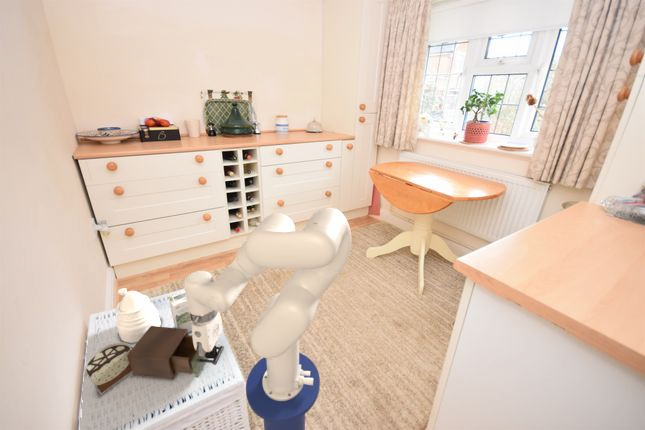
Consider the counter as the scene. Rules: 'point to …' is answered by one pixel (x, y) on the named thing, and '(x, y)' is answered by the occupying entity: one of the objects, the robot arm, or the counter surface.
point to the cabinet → (156, 352)
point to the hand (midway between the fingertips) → (211, 356)
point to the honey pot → (135, 315)
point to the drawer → (190, 358)
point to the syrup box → (180, 311)
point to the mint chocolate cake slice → (108, 366)
